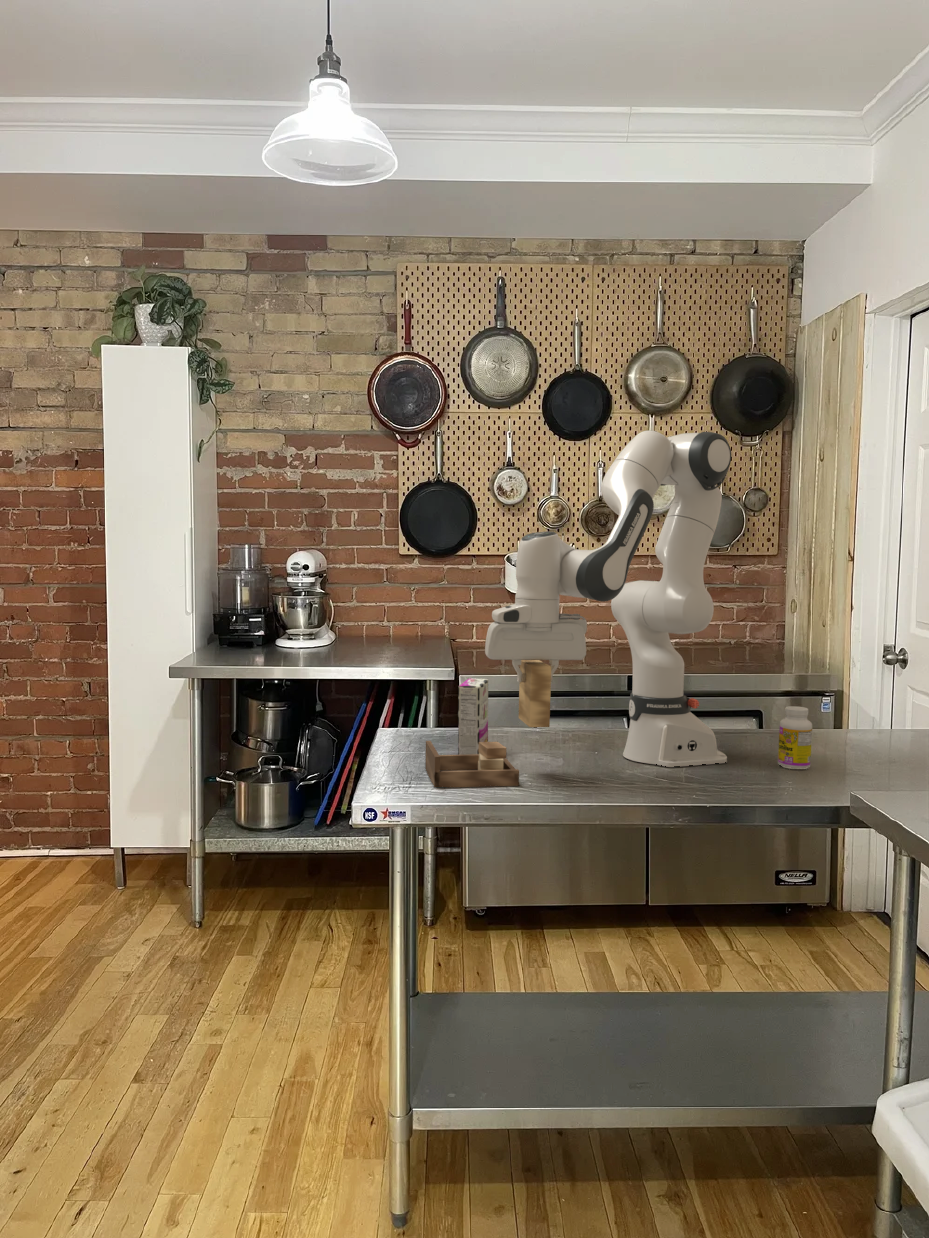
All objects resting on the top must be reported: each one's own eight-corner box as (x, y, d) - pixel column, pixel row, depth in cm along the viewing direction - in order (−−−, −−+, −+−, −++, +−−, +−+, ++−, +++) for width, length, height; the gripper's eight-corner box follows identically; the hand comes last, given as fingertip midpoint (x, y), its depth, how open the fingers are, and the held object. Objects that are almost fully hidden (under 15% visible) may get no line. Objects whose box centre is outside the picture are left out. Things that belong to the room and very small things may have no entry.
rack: (503, 767, 198) (504, 739, 198) (518, 785, 184) (519, 755, 184) (425, 769, 196) (425, 740, 195) (434, 787, 182) (434, 756, 181)
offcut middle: (500, 762, 195) (500, 750, 194) (503, 772, 187) (503, 759, 187) (478, 762, 195) (478, 750, 194) (480, 772, 187) (480, 759, 186)
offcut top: (497, 751, 194) (497, 741, 194) (506, 757, 188) (506, 748, 188) (478, 751, 193) (478, 742, 193) (486, 758, 187) (487, 748, 187)
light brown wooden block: (537, 717, 196) (539, 660, 195) (549, 727, 186) (551, 666, 185) (518, 717, 196) (520, 660, 195) (529, 727, 186) (531, 666, 185)
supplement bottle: (771, 764, 206) (774, 705, 205) (798, 762, 208) (801, 704, 207) (789, 771, 200) (792, 711, 199) (816, 770, 201) (819, 710, 200)
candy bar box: (466, 749, 216) (467, 677, 214) (488, 750, 215) (489, 678, 213) (456, 760, 205) (457, 684, 203) (479, 761, 204) (480, 685, 202)
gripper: (582, 612, 194) (580, 679, 195) (484, 611, 191) (482, 679, 192) (591, 615, 188) (589, 684, 189) (490, 613, 185) (488, 684, 186)
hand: (534, 682), depth 190 cm, fingers closed on light brown wooden block, 4 cm apart
